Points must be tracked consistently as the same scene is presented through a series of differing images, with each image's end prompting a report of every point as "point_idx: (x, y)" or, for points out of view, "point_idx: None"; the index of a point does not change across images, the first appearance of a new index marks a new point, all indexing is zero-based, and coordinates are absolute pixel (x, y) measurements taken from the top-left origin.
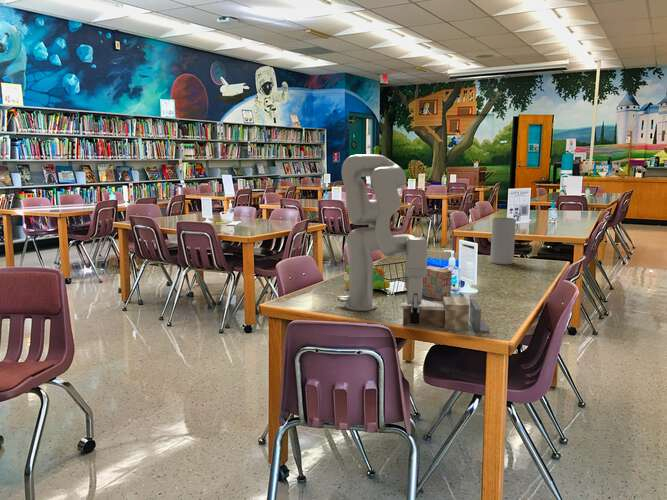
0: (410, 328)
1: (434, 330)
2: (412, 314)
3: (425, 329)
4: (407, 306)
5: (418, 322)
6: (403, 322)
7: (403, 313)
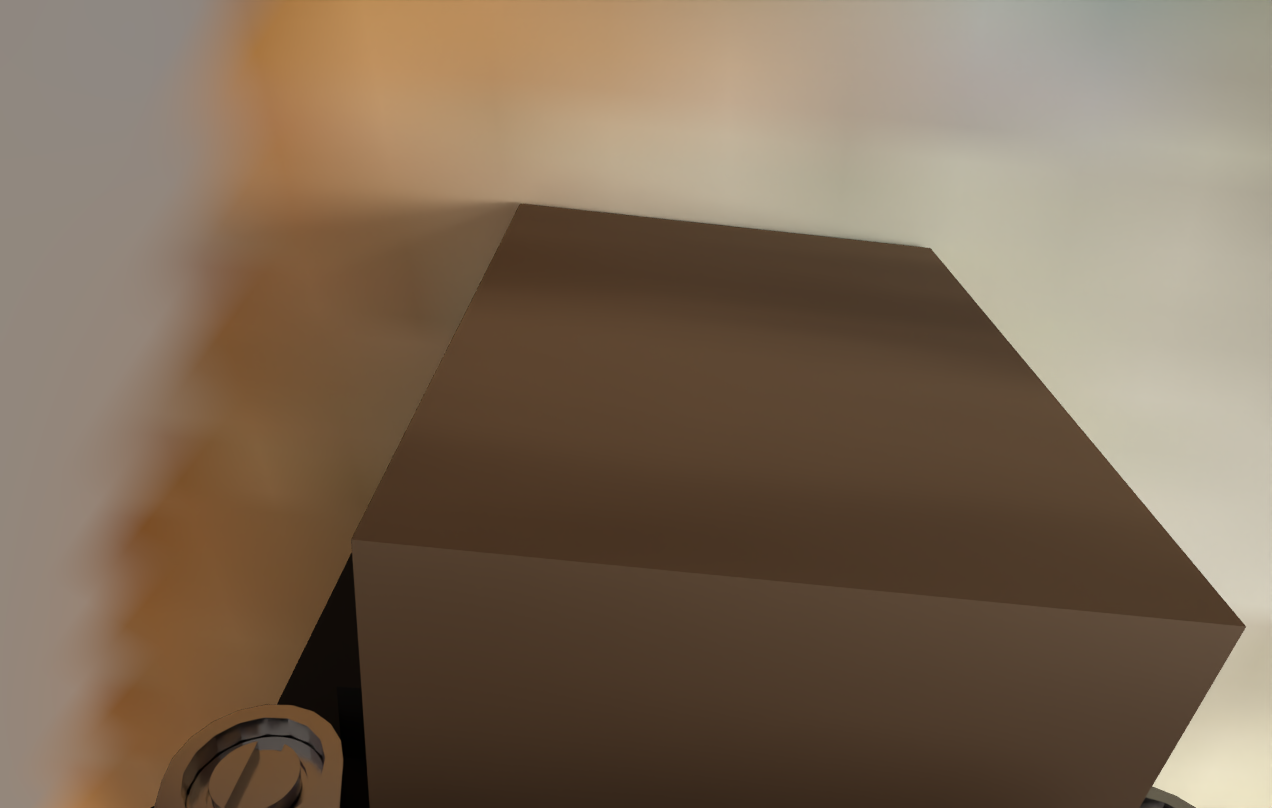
0: (223, 376)
1: None
2: None
3: (237, 674)
4: (917, 786)
5: None
6: (506, 242)
7: (437, 385)
